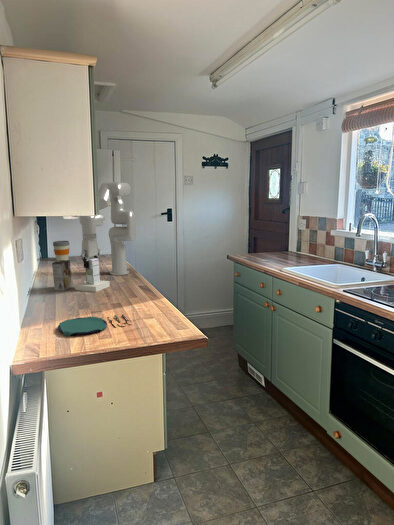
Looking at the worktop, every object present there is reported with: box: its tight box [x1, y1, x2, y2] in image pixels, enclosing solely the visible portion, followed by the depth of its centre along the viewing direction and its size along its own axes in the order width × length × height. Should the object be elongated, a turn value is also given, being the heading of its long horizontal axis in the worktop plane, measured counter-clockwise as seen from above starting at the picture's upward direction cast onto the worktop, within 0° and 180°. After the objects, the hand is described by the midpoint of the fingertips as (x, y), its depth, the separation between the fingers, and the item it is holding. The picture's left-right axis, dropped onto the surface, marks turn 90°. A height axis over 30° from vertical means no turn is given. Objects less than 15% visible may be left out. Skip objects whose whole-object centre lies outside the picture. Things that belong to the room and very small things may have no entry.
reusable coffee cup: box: [52, 240, 70, 262], centre depth 330 cm, size 13×13×15 cm
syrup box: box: [84, 257, 101, 284], centre depth 238 cm, size 6×6×14 cm
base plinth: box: [74, 280, 110, 293], centre depth 240 cm, size 14×14×3 cm
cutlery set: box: [57, 314, 130, 337], centre depth 175 cm, size 20×30×2 cm, turn 115°
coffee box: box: [51, 259, 73, 291], centre depth 239 cm, size 9×6×16 cm
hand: (91, 266), depth 238 cm, fingers open, 9 cm apart
